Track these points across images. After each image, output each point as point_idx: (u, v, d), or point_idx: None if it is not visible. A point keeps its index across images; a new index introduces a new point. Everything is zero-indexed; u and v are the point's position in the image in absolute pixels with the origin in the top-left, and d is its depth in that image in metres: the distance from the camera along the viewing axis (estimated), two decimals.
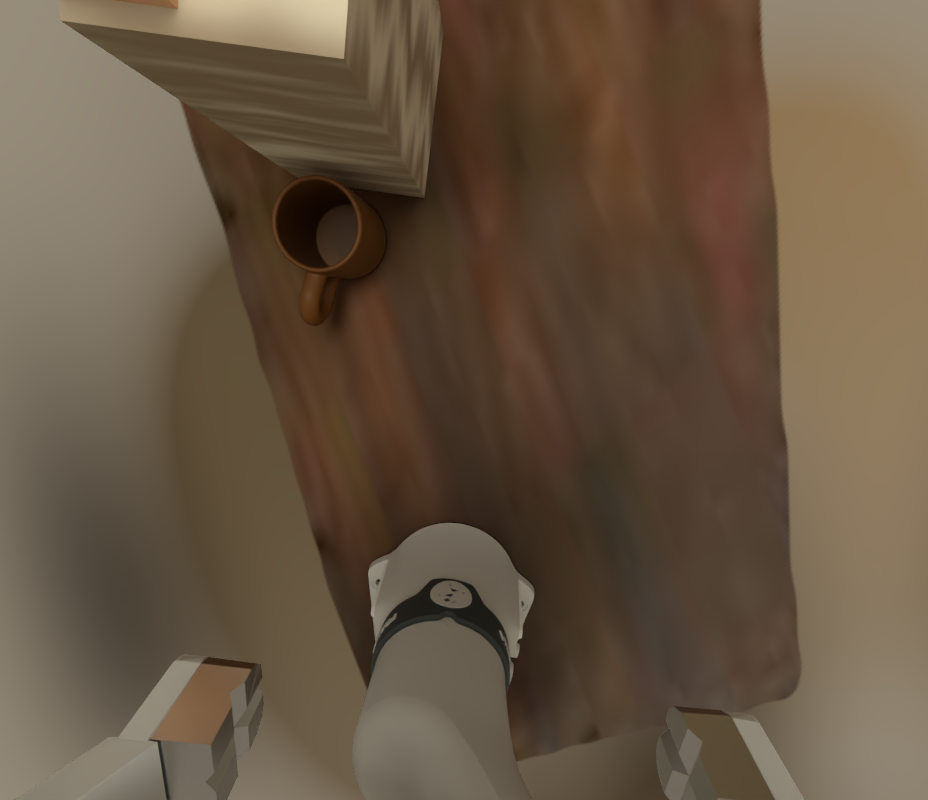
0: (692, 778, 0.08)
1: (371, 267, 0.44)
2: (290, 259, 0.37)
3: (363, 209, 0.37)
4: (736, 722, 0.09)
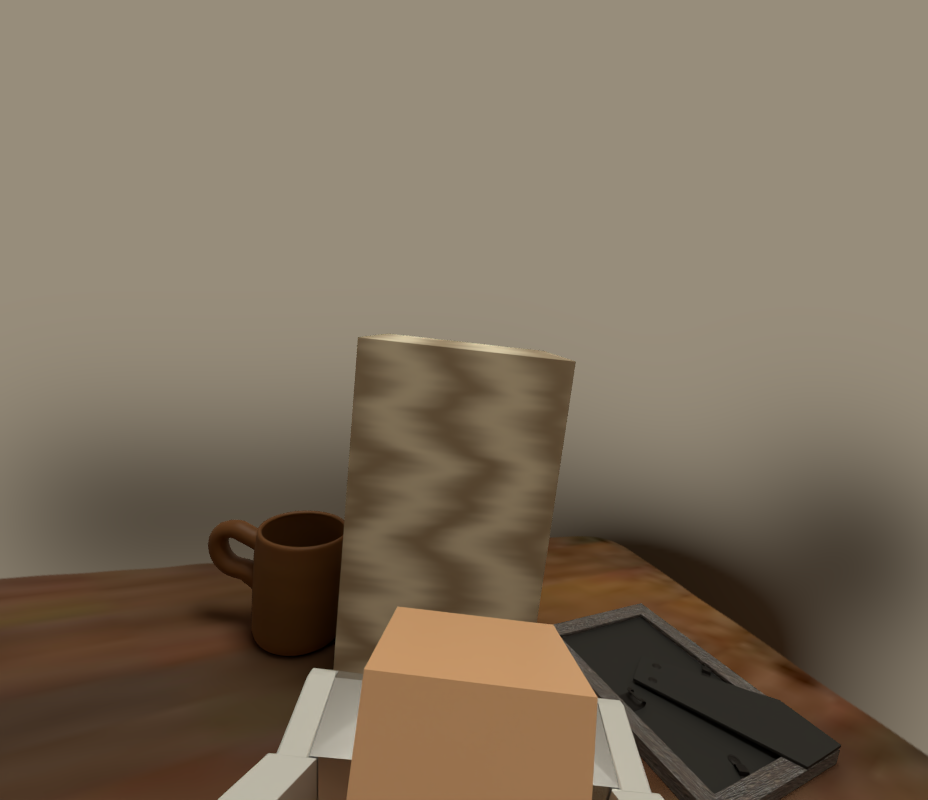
0: None
1: (257, 624, 0.37)
2: (278, 515, 0.41)
3: (312, 563, 0.36)
4: (601, 708, 0.09)
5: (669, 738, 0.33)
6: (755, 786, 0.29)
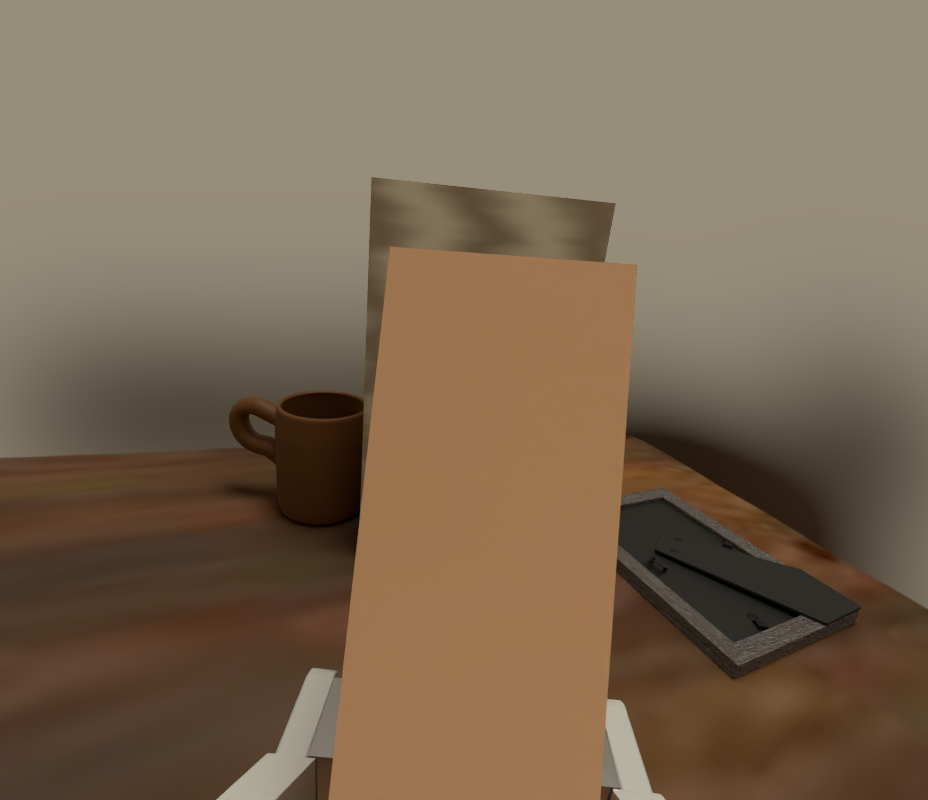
0: None
1: (283, 495, 0.38)
2: (296, 393, 0.40)
3: (333, 435, 0.35)
4: None
5: (689, 598, 0.33)
6: (774, 638, 0.30)
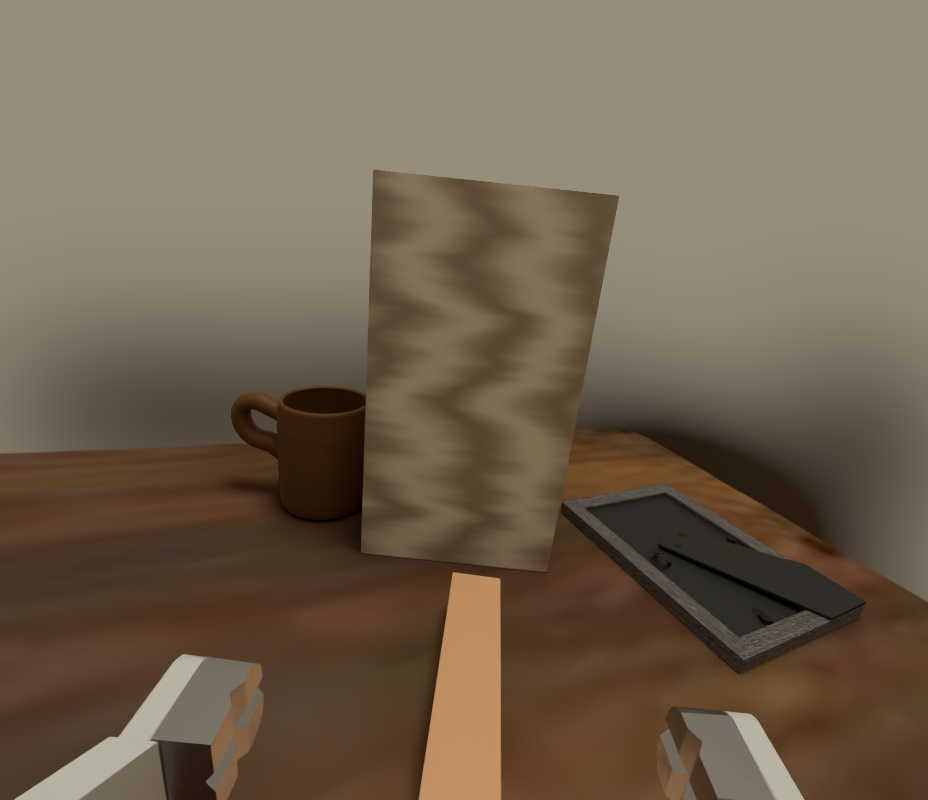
0: (692, 778, 0.08)
1: (285, 490, 0.38)
2: None
3: (335, 430, 0.35)
4: (736, 722, 0.09)
5: (694, 593, 0.33)
6: (779, 632, 0.30)
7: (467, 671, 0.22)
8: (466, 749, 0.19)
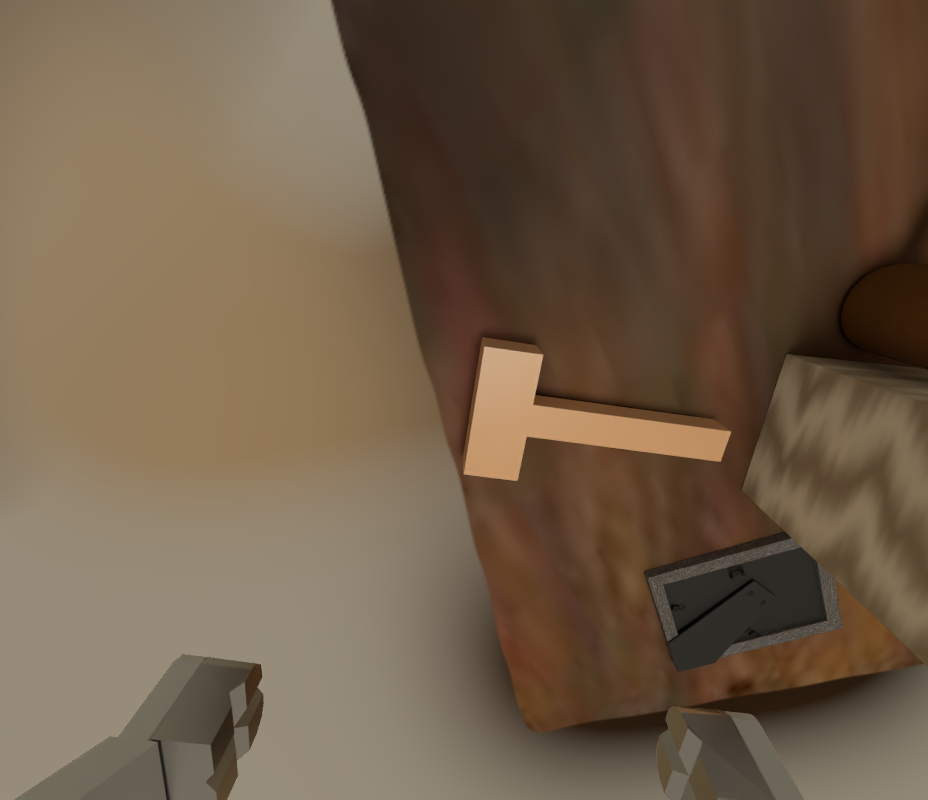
0: (692, 778, 0.08)
1: (880, 278, 0.37)
2: None
3: (920, 343, 0.33)
4: (736, 722, 0.09)
5: (702, 579, 0.49)
6: (663, 608, 0.50)
7: (648, 435, 0.41)
8: (606, 432, 0.41)
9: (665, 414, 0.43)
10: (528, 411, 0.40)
